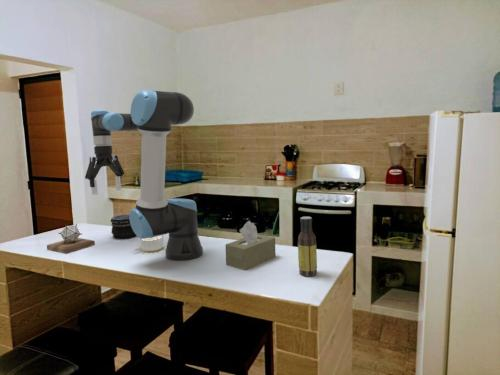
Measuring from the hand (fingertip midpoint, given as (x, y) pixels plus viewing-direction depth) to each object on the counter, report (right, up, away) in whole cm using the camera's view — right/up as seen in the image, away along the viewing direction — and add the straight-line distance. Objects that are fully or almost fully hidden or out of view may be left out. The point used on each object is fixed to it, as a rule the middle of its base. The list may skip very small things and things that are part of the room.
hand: (107, 192), depth 171 cm
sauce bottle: (+85, -28, -42) cm, 99 cm away
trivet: (-16, -25, -2) cm, 29 cm away
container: (+3, -22, +15) cm, 27 cm away
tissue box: (+66, -26, -27) cm, 76 cm away
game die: (-15, -23, -2) cm, 28 cm away
